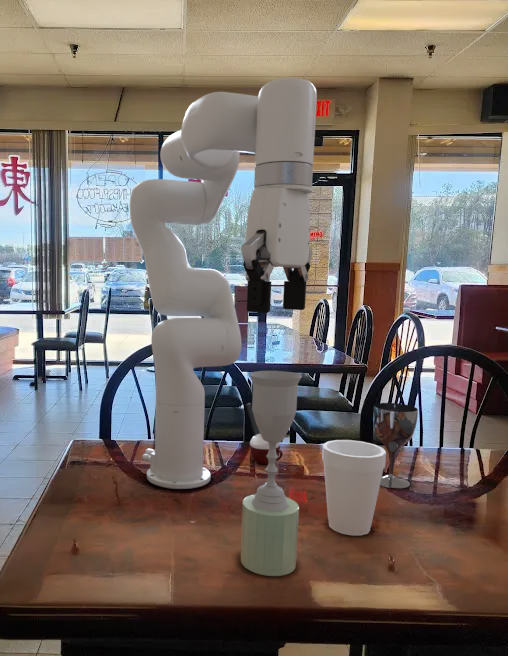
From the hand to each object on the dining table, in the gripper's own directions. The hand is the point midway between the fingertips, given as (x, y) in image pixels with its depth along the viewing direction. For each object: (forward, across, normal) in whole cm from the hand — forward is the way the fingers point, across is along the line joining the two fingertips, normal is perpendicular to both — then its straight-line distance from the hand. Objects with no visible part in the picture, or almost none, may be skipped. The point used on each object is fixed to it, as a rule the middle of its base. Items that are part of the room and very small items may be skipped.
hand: (276, 310), depth 78 cm
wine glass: (+35, -43, +3) cm, 56 cm away
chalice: (+27, +2, +2) cm, 27 cm away
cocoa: (+36, -36, -22) cm, 55 cm away
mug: (+35, +1, +1) cm, 35 cm away
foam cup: (+35, -17, +6) cm, 39 cm away
